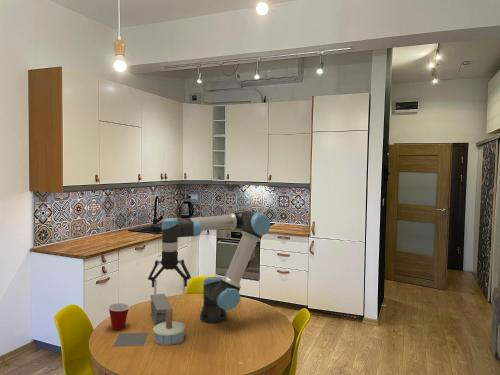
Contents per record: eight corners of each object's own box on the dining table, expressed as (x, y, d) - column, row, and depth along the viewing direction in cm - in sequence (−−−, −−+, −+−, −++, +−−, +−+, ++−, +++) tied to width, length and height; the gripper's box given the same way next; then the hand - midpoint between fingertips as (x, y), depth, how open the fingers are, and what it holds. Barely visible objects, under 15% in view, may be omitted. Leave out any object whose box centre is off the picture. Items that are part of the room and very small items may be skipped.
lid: (185, 322, 189) (185, 303, 188) (183, 335, 174) (183, 314, 173) (155, 323, 187) (155, 304, 187) (150, 336, 172) (151, 315, 172)
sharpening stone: (171, 328, 193) (172, 308, 192) (156, 331, 190) (156, 310, 189) (164, 311, 216) (164, 293, 215) (150, 313, 213) (150, 295, 212)
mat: (148, 333, 186) (148, 332, 186) (143, 346, 172) (143, 345, 172) (119, 334, 185) (119, 333, 185) (112, 347, 171) (112, 346, 171)
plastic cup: (128, 332, 187) (128, 309, 187) (105, 333, 185) (105, 310, 185) (131, 323, 198) (131, 301, 197) (110, 324, 196) (110, 302, 196)
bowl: (184, 332, 188) (184, 322, 188) (182, 345, 174) (182, 334, 174) (156, 333, 187) (156, 323, 187) (152, 346, 173) (152, 335, 173)
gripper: (195, 248, 184) (195, 290, 185) (144, 248, 181) (144, 291, 182) (195, 251, 177) (195, 295, 177) (142, 252, 174) (141, 296, 175)
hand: (169, 293), depth 180 cm, fingers open, 13 cm apart
